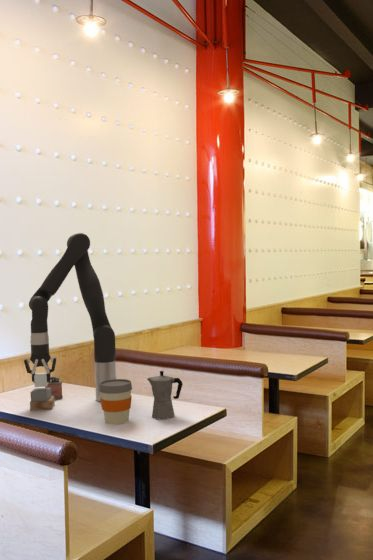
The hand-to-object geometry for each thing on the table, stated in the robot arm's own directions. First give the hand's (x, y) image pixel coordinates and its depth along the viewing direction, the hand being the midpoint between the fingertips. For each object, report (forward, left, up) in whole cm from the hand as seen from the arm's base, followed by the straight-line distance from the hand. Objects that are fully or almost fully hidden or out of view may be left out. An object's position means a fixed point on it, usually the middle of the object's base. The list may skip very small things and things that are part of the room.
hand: (41, 382), depth 240 cm
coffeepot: (-51, +26, -11) cm, 58 cm away
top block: (0, 0, -1) cm, 1 cm away
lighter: (-3, -15, -11) cm, 19 cm away
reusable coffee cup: (-32, +28, -11) cm, 44 cm away
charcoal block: (0, 0, -7) cm, 7 cm away
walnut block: (0, 0, -11) cm, 11 cm away
